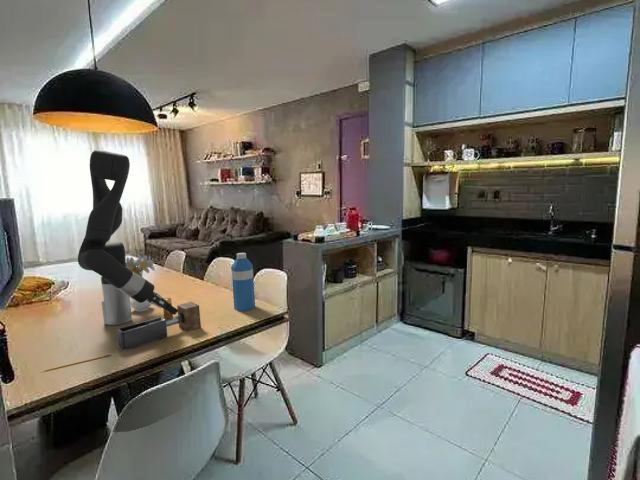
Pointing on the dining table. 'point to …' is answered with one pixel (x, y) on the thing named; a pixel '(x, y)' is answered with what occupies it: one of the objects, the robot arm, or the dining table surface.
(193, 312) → the socket block
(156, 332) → the sleeve
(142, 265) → the flower vase
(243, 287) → the water bottle
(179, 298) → the dining table surface
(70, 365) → the pencil
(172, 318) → the tube
